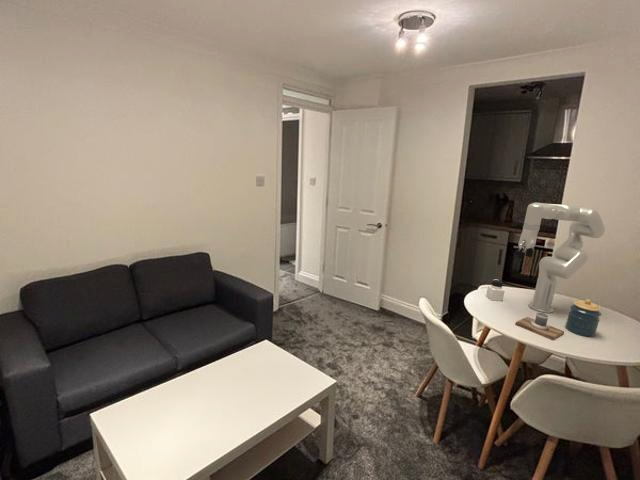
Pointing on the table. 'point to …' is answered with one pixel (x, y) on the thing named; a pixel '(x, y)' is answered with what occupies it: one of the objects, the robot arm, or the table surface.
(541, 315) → the camera lens
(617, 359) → the table surface
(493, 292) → the medicine bottle
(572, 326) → the canister
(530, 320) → the board
